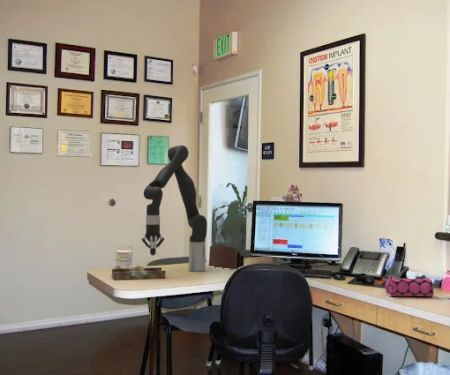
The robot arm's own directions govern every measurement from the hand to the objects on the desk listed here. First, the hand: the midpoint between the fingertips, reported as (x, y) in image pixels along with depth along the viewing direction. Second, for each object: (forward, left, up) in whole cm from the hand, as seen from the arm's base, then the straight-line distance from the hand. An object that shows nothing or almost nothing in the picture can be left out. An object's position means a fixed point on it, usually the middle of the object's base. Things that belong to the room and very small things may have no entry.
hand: (152, 255), depth 267 cm
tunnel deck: (+7, 0, -12) cm, 14 cm away
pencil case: (-111, +72, -12) cm, 133 cm away
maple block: (+8, -1, -10) cm, 13 cm away
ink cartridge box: (+13, -21, -12) cm, 27 cm away
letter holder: (-51, -24, -12) cm, 57 cm away
